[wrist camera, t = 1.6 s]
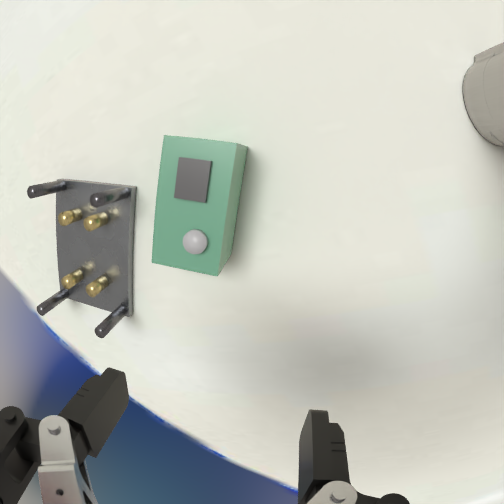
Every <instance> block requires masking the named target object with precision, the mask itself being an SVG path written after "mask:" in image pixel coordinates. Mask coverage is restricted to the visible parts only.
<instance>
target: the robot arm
mask: <svg viewBox="0 0 504 504" xmlns="http://www.w3.org/2000/svg"><path fill="white" fill-rule="evenodd" d="M463 95H464V102H465V106H466V109H467V112H468V114H469V117H470V119H471V121H472V122H473V124H474V126H475V127H476V129H477V130H478V131H479V133H480V134H481V135H482V136H483V137H484V138H485V139H486V140H488V141H490V142H491V143H493V144H495V145H498V146H504V42H503V43H501V44H499V45H496V46H494V47H492V48H490V49H488V50H486V51H483V52H481V53H479V54H477V55H475V62H474V64H473V65H472V66H471V67H470V68H469V69H468V71H467V73H466V74H465V78H464V82H463ZM128 401H129V394H128V388H127V382H126V376H125V373H124V372H122V371H119V370H115V369H112V368H107V369H106V370H105V371H104V372H103V374H102V375H101V376H99V375H95V376H93V377H91V378H90V379H88V380H87V381H86V382H85V383H84V384H83V385H82V387H81V389H79V390H78V391H77V393H76V395H74V396H73V398H72V399H71V400H70V401H69V403H68V404H67V405H66V406H65V407H64V409H63V410H62V411H61V413H60V414H59V415H58V416H56V415H52V416H48V417H46V418H44V419H43V420H36V419H32V418H27V417H25V416H24V414H23V412H22V411H21V410H20V409H19V408H17V407H14V406H9V407H5V408H3V409H2V410H1V411H0V504H17V503H18V501H19V499H20V498H21V496H22V494H23V493H24V491H25V489H26V487H27V486H28V484H29V482H30V481H31V479H32V477H33V475H34V474H35V472H36V471H37V469H38V475H39V482H40V489H41V495H42V500H43V504H98V503H97V500H96V498H95V496H94V493H93V490H92V486H91V482H90V479H89V475H88V471H87V467H86V463H85V458H86V456H87V455H90V456H93V457H95V458H96V457H97V455H98V454H99V452H100V450H101V449H102V447H103V445H104V444H105V442H106V440H107V439H108V437H109V436H110V434H111V432H112V430H113V429H114V427H115V426H116V424H117V422H118V421H119V419H120V417H121V416H122V414H123V413H124V411H125V409H126V408H127V405H128ZM41 463H42V465H40V464H41ZM298 504H409V501H408V500H407V499H406V498H405V497H404V496H402V495H400V494H395V493H392V494H387V495H385V496H383V497H382V498H381V499H380V498H376V497H371V496H367V495H363V494H361V493H359V492H357V491H356V490H355V488H354V487H353V486H352V485H351V483H350V479H349V471H348V462H347V454H346V446H345V439H344V432H343V431H342V429H341V428H340V426H339V425H338V423H329V417H328V412H327V411H323V410H309V412H308V414H307V417H306V420H305V423H304V426H303V428H302V431H301V435H300V441H299V483H298Z"/></svg>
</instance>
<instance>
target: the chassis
mask: <svg viewBox="0 0 504 504" xmlns="http://www.w3.org/2000/svg"><path fill="white" fill-rule="evenodd" d="M52 193H56V236H57V257H58V271H59V282H60V291H59V292H57V293H56V294H54V295H53V296H52V297H50V298H49V299H47V300H46V301H44V302H43V303H41V304H40V305H38V306H37V311H38V313H39V314H40V315H41V316H43V315H45V314H46V313H47V312H49V311H50V310H51V309H53V308H54V307H55V306H57V305H58V304H59V303H61V302H62V301H64V300H65V299H66V298H69V299H72V300H75V301H78V302H81V303H84V304H88V305H91V306H94V307H97V308H100V309H104V310H107V311H110V312H112V313H111V314H110V315H109V316H108V317H107V318H106V319H105V320H104V321H103V322H102V323H101V324H99V325H98V326H97V327H96V328H95V333H96V335H97V336H98V337H100V338H104V337H105V336H106V335H107V334H108V333H109V331H110V330H111V329H112V328H113V327H114V326H115V325H116V324H117V323H118V322H119V321H120V320H121V319H122V318H123V317H124V316H128V317H130V315H131V314H132V313H133V235H134V215H135V200H136V186H127V185H119V184H110V183H101V182H91V181H81V180H71V179H58V180H57V181H54V182H49V183H43V184H38V185H33V186H29V188H28V190H27V194H28V196H29V198H35V197H39V196H43V195H48V194H52Z"/></svg>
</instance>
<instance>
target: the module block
mask: <svg viewBox="0 0 504 504" xmlns="http://www.w3.org/2000/svg"><path fill="white" fill-rule="evenodd" d="M247 148H248V147H247V146H244V145H241V144H238V143H232V142H224V141H216V140H208V139H199V138H189V137H179V136H167V135H164V140H163V147H162V154H161V162H160V170H159V179H158V188H157V198H156V209H155V220H154V234H153V249H152V263H156V264H161V265H166V266H170V267H175V268H180V269H184V270H189V271H194V272H199V273H204V274H209V275H213V276H218V275H219V273H220V272H221V270H222V268H223V267H224V265H225V263H226V262H227V260H228V258H229V257H230V255H231V252H232V245H233V238H234V231H235V225H236V218H237V211H238V205H239V198H240V192H241V186H242V179H243V173H244V167H245V160H246V154H247Z"/></svg>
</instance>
